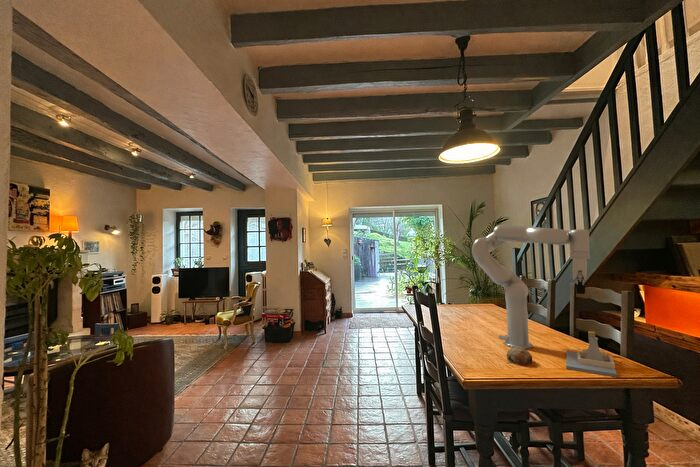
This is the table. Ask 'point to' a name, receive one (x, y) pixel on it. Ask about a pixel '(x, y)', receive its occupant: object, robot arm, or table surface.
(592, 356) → the flask
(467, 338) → the table surface
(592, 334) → the pin
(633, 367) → the table surface
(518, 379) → the table surface
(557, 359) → the table surface
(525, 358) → the bread roll
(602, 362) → the dock board
